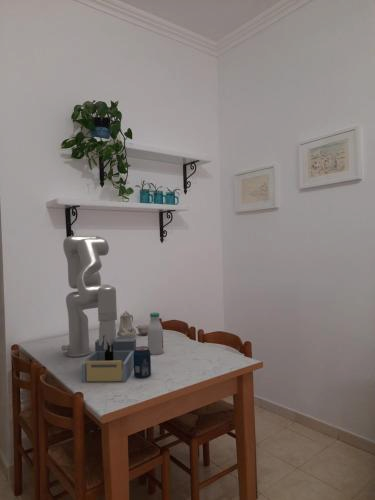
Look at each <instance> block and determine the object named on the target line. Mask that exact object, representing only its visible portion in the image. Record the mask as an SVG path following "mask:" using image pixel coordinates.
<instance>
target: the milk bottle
mask: <svg viewBox="0 0 375 500" xmlns="http://www.w3.org/2000/svg"><path fill="white" fill-rule="evenodd" d="M149 317H150V321H149V324H148V333H147V347H149V350H150V355H154V356H155V355H162V354H164V333H163V332H164V331H163V330H164V329H163V326H162V323H161V321H160V313H159V312H157V311H156V312H151V313H150V314H149Z"/></svg>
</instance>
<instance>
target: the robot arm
mask: <svg viewBox="0 0 375 500" xmlns="http://www.w3.org/2000/svg"><path fill="white" fill-rule="evenodd" d="M62 245H63V248H62V249H63V253H64V255H65V258H66V261H67V262H66V263H67V276H68V277H67V278H68V279H67V282H68V286H69V287H70V288H71V289H74V290H77V291H72V292H69V293H68V294H66V297H65V305H66V307H67V308H66V310H67V317H68V320H67V321H68V340H69V342H68V343H69V344H68V345H67V344H66V345H64V344H63V345H62V346H61V350H62V351H66V356H67V357H71V358H79V357H80V358H81V357H86V356H90V355H92V354H93V349H92V348H90V339H89V338H90V336H89V335H90V334H89V332H90V331H89V318H88V316H87V314H86V313H85V312H84V311H86V310H90V309H97V317H98V319H97V321H98V322H99V325H98V326H99V327H98V339H99V346H102V345H103V344H104V351H105V361H113V360H114V356H113V343H114V342H115V340H116V339H117V328H116V321H117V320H118V314H117V312H118V311H117V309H118V308H117V307H118V306H117V289H116V287H114V286H112V285H109V284H102V281H101V280H102V279H101V274H100V270H101V268H102V267H103V265H102V261H101V258H100V256H102V257H103V256H107V255H108V253H109V251H110V246H109V242H108V241H107V240H106V239H105V238H104V237H101V236H98V235H70V236H67V237H65V239H64V240H63V243H62Z"/></svg>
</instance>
